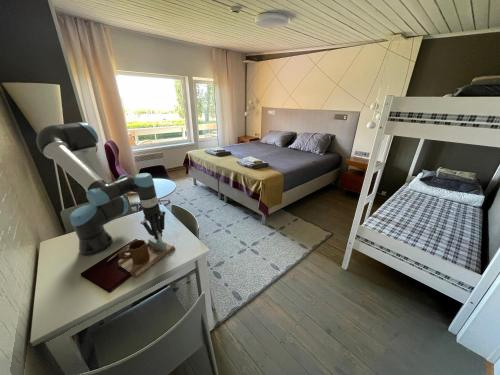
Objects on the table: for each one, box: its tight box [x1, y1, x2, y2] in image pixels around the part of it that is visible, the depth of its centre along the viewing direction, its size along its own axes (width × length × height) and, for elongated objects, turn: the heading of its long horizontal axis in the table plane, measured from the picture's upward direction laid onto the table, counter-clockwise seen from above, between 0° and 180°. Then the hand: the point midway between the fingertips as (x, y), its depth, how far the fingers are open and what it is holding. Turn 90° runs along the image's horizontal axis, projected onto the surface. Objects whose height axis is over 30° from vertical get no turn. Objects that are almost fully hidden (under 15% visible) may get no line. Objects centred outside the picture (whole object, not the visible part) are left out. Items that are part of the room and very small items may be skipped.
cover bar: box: [147, 236, 167, 252], centre depth 109 cm, size 12×2×4 cm, turn 59°
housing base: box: [117, 237, 176, 279], centre depth 104 cm, size 15×22×3 cm
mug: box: [118, 239, 150, 265], centre depth 99 cm, size 12×8×9 cm, turn 128°
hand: (160, 242), depth 110 cm, fingers closed
